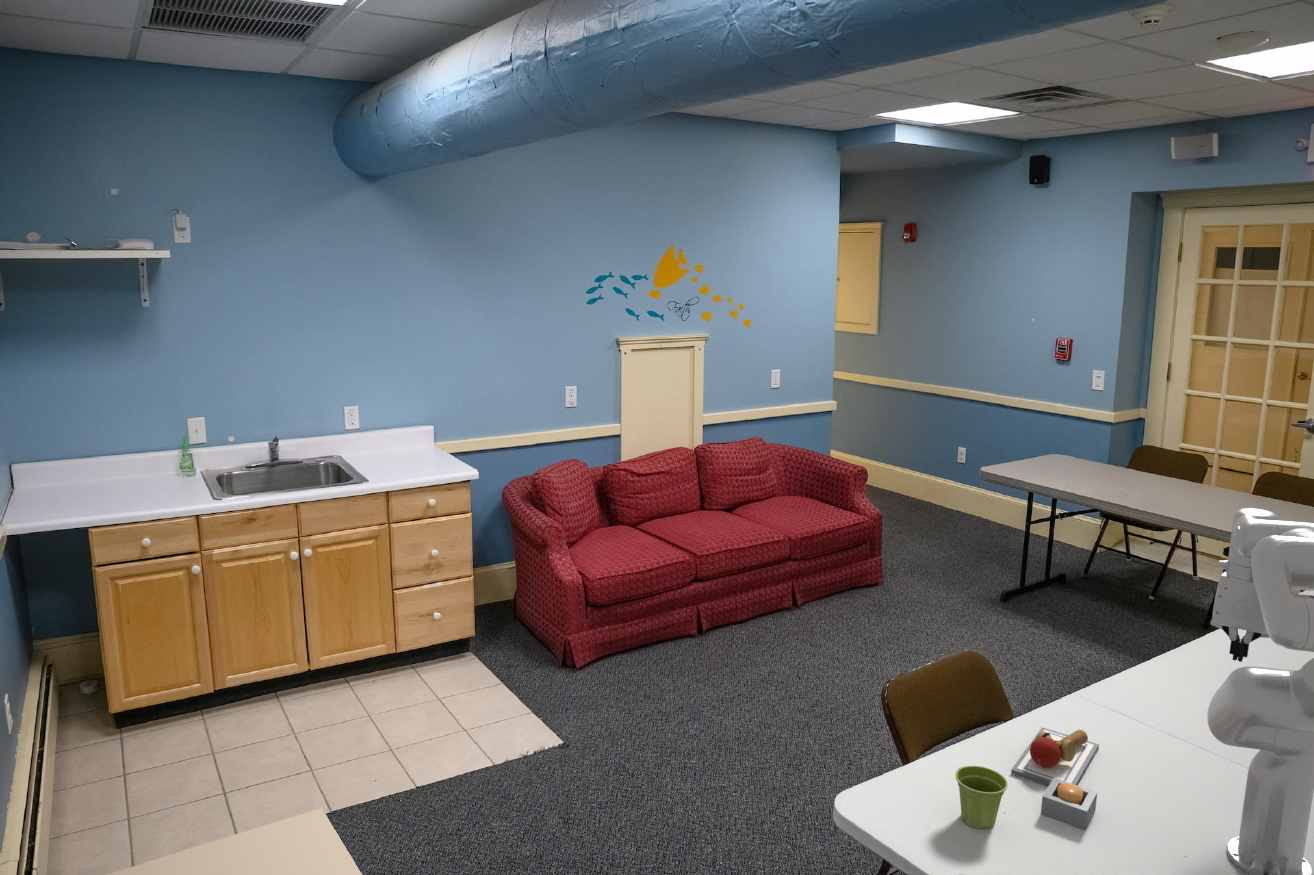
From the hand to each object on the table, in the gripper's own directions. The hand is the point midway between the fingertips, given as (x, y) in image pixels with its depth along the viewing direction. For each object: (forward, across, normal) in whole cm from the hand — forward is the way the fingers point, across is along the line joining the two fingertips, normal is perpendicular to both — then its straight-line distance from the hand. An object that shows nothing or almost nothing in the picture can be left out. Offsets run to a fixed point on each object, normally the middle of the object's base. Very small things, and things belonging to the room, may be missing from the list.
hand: (1237, 658), depth 180 cm
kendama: (+26, -29, -12) cm, 41 cm away
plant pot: (+27, -35, -44) cm, 63 cm away
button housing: (+27, -22, -31) cm, 47 cm away
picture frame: (+27, -29, -13) cm, 42 cm away
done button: (+25, -22, -31) cm, 46 cm away
